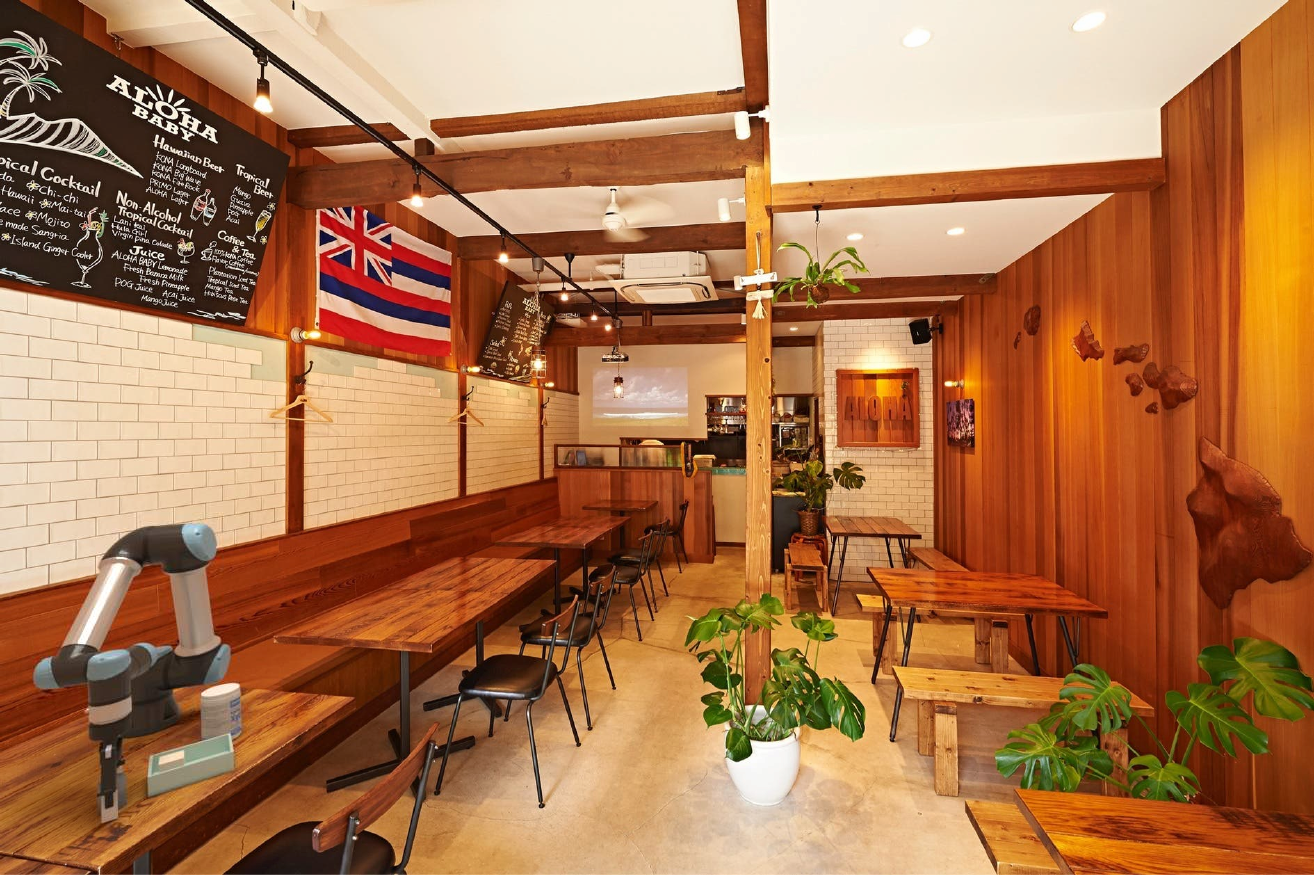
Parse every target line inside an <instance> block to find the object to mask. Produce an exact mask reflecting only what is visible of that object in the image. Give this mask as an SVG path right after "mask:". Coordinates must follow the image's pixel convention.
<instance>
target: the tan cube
mask: <svg viewBox="0 0 1314 875" xmlns="http://www.w3.org/2000/svg"><path fill="white" fill-rule="evenodd" d="M184 765H185V758H184V750H183V751H179V752H176V753H172V754H169V755H165V756H161V757H160V758H159V773H161V772H164V771H167V770H171V769H174V768H177V767H181V766H184Z"/></svg>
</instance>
